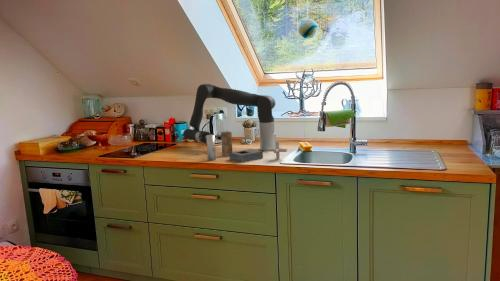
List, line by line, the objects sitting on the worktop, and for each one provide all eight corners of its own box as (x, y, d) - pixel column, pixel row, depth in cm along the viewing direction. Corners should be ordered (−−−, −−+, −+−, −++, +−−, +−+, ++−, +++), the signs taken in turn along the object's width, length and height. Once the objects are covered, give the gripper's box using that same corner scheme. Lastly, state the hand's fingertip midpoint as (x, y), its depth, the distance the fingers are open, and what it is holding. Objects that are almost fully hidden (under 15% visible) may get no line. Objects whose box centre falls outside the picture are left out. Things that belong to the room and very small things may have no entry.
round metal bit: (213, 158, 217) (211, 134, 215) (217, 160, 213) (216, 135, 211) (206, 160, 214) (205, 135, 212) (210, 161, 211) (209, 136, 209)
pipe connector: (289, 157, 213) (288, 139, 211) (284, 161, 203) (283, 142, 202) (272, 156, 216) (271, 139, 215) (266, 160, 207) (265, 142, 206)
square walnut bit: (228, 154, 228) (227, 131, 225) (232, 155, 224) (231, 131, 222) (222, 155, 225) (220, 132, 223) (226, 156, 222) (225, 132, 219)
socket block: (251, 155, 222) (250, 148, 221) (262, 158, 213) (262, 151, 213) (229, 159, 213) (229, 152, 212) (241, 162, 204) (240, 155, 204)
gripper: (193, 132, 240) (206, 134, 227) (212, 129, 248) (226, 132, 235) (193, 144, 241) (207, 147, 228) (213, 141, 249) (227, 144, 237)
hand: (216, 139), depth 232 cm, fingers open, 8 cm apart
